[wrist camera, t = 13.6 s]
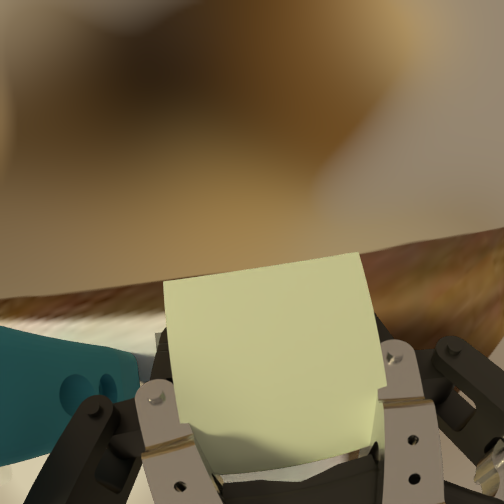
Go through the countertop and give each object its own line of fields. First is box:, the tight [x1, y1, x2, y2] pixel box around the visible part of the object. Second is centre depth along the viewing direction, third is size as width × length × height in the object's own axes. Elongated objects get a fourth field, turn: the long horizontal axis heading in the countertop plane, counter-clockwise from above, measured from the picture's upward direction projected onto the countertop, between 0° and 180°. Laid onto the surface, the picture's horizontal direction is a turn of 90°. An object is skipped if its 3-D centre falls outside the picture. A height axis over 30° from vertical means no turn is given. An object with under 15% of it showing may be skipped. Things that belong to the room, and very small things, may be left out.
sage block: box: [163, 252, 387, 475], centre depth 10 cm, size 5×5×8 cm
